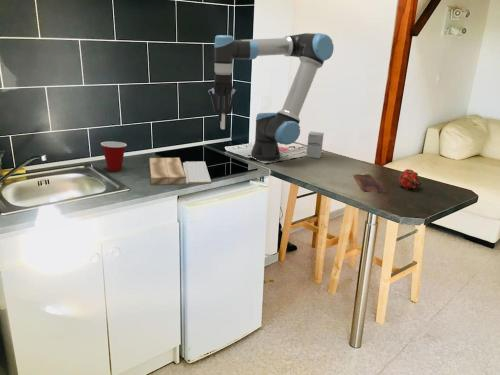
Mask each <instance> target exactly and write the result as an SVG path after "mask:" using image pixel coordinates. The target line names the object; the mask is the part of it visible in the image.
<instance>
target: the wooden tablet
mask: <svg viewBox="0 0 500 375" xmlns="http://www.w3.org/2000/svg"><path fill="white" fill-rule="evenodd" d="M353 178H354V180H355V181H356V183H357V185H358V186H359V188H360V190H361V189H362V190H361V191H362V192H363V191H364V192H363V193H365V192H372V191H373V192H372V193H374V192H376V193H375V194H380V193H385V194H386V193H387V191H386V189H384V187H383V186H382V185H381V184H380V183H379V182H378V180H376V179H375V177H373V176H372V175H371V174H369V173H368V174H365V175H361V174H353Z"/></svg>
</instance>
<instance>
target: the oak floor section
mask: <svg viewBox="0 0 500 375" xmlns="http://www.w3.org/2000/svg"><path fill="white" fill-rule="evenodd" d="M149 170H150V171H149V172H150V183H151V186H155V185H157V186H159V185H163V186H164V185H187V184H186V175H185V172H184V168H183V162H182V160H181V157H149Z"/></svg>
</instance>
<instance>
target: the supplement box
mask: <svg viewBox="0 0 500 375" xmlns="http://www.w3.org/2000/svg"><path fill="white" fill-rule="evenodd" d="M324 134H325V133H324V132H317V131H310V132H308V137H307V147H306V158H313V159H320V158H321V156H322V150H323V142H324Z"/></svg>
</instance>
